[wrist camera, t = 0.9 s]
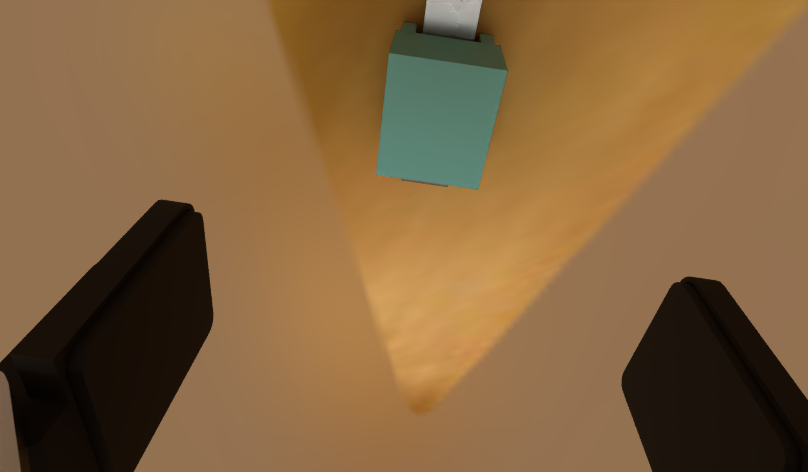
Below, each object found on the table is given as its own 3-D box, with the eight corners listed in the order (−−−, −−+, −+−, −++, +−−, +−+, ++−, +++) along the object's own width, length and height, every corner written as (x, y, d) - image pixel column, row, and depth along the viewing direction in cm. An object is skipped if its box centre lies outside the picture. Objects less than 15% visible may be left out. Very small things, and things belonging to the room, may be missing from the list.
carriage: (398, 21, 30) (388, 53, 25) (497, 35, 30) (507, 70, 25) (386, 128, 34) (376, 174, 29) (473, 141, 34) (478, 189, 29)
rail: (456, -210, 24) (458, -222, 21) (518, -200, 24) (529, -210, 21) (405, 151, 36) (401, 180, 32) (447, 158, 36) (447, 187, 33)
